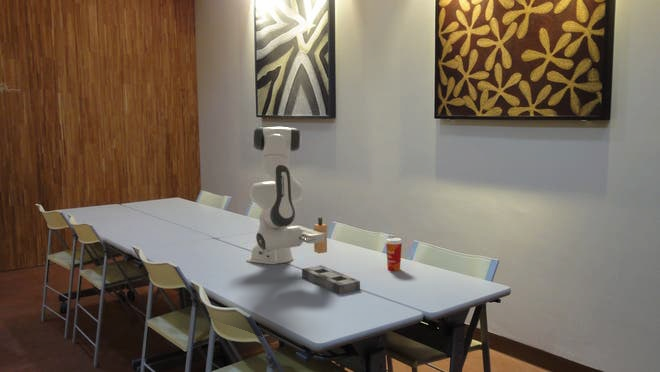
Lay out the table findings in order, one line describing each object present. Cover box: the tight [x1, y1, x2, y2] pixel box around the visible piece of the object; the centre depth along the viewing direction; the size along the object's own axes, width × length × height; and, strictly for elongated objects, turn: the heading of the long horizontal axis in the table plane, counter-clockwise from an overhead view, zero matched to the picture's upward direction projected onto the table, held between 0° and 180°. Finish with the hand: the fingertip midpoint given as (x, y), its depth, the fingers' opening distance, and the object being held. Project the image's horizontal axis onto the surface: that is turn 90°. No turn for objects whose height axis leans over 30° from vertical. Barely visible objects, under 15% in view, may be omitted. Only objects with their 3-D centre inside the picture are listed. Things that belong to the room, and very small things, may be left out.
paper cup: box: [385, 237, 403, 272], centre depth 268 cm, size 8×8×14 cm
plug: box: [313, 217, 328, 254], centre depth 254 cm, size 4×4×15 cm
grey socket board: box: [301, 264, 361, 295], centre depth 250 cm, size 30×10×4 cm, turn 33°
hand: (322, 232), depth 254 cm, fingers closed on plug, 4 cm apart
